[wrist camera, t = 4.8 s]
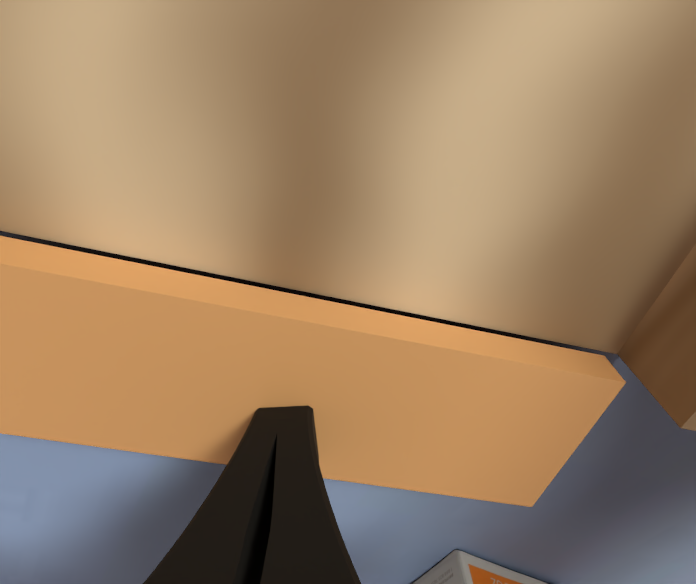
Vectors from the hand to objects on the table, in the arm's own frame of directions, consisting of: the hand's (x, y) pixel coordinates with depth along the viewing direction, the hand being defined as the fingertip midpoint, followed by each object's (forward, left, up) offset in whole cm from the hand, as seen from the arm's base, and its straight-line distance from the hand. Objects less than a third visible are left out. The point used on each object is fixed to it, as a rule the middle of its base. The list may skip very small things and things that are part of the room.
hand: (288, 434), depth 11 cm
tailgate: (0, -4, -1) cm, 4 cm away
